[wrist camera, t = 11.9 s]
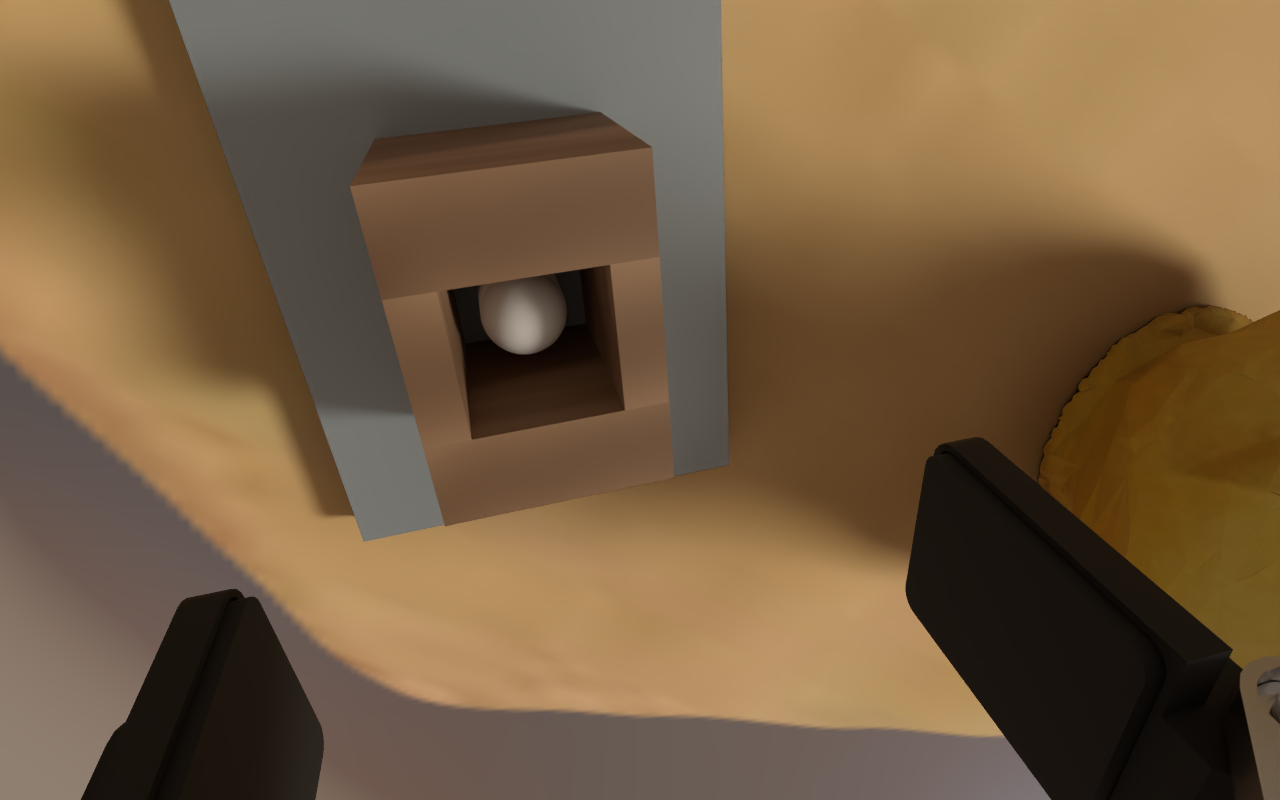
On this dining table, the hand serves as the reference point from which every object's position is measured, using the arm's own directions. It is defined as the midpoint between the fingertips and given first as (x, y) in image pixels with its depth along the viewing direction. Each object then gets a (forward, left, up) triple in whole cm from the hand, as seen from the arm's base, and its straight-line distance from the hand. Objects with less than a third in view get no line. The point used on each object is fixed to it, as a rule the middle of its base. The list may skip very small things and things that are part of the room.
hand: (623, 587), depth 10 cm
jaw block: (0, 0, -15) cm, 14 cm away
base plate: (0, 0, -16) cm, 16 cm away
